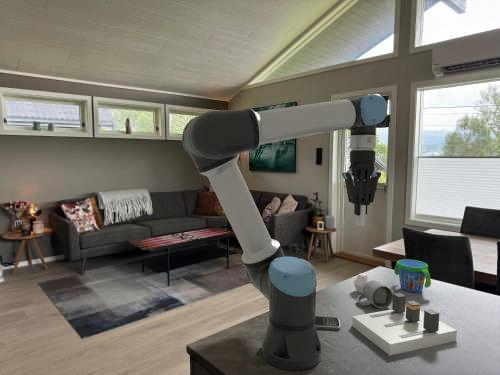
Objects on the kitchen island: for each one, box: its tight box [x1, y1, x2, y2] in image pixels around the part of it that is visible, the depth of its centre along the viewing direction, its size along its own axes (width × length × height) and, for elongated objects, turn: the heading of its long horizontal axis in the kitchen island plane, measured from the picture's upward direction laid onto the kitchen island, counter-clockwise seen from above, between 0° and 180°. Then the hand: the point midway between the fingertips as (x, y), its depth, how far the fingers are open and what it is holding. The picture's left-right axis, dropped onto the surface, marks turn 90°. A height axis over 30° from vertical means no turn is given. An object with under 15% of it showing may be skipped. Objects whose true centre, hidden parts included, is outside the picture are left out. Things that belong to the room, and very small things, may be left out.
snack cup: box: [393, 259, 432, 293], centre depth 130 cm, size 16×10×10 cm
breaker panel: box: [351, 306, 458, 356], centre depth 98 cm, size 22×16×3 cm
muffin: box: [353, 272, 370, 294], centre depth 128 cm, size 6×6×7 cm
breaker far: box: [391, 292, 407, 313], centre depth 104 cm, size 2×3×5 cm
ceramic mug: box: [356, 279, 394, 309], centre depth 117 cm, size 11×8×8 cm
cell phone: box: [315, 315, 341, 331], centre depth 103 cm, size 6×11×1 cm, turn 82°
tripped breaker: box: [405, 300, 421, 323], centre depth 99 cm, size 3×3×5 cm
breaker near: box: [423, 308, 440, 333], centre depth 93 cm, size 2×3×5 cm
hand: (360, 225), depth 108 cm, fingers closed
